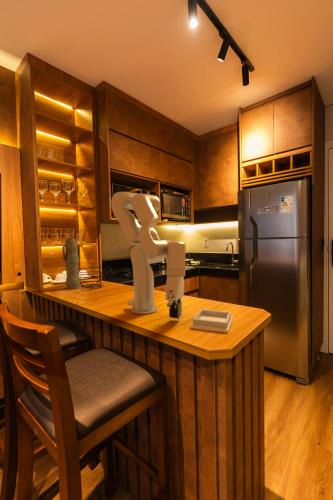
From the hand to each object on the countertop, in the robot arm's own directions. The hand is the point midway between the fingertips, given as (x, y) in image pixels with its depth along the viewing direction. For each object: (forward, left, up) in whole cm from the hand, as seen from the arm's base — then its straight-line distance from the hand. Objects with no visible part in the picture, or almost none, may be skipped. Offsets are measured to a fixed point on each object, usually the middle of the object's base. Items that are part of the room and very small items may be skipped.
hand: (175, 314), depth 99 cm
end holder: (+15, +3, -3) cm, 16 cm away
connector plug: (0, 0, -1) cm, 1 cm away
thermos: (-90, +38, -3) cm, 97 cm away
